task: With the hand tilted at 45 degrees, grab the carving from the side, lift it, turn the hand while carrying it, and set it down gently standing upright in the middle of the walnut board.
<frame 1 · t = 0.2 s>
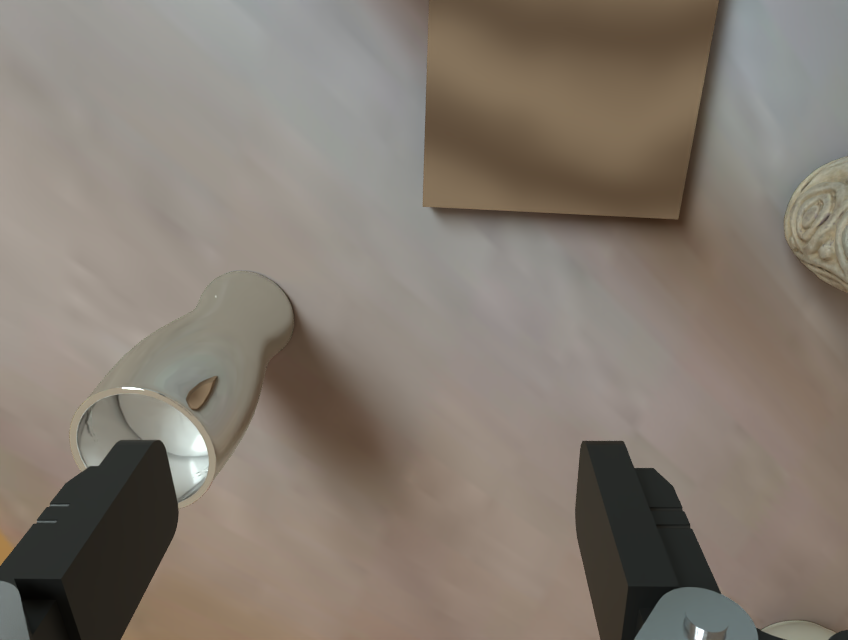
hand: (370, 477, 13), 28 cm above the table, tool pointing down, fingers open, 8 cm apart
walnut board: (567, 14, 35), on the table
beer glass: (248, 314, 44), on the table
carving: (838, 201, 38), on the table
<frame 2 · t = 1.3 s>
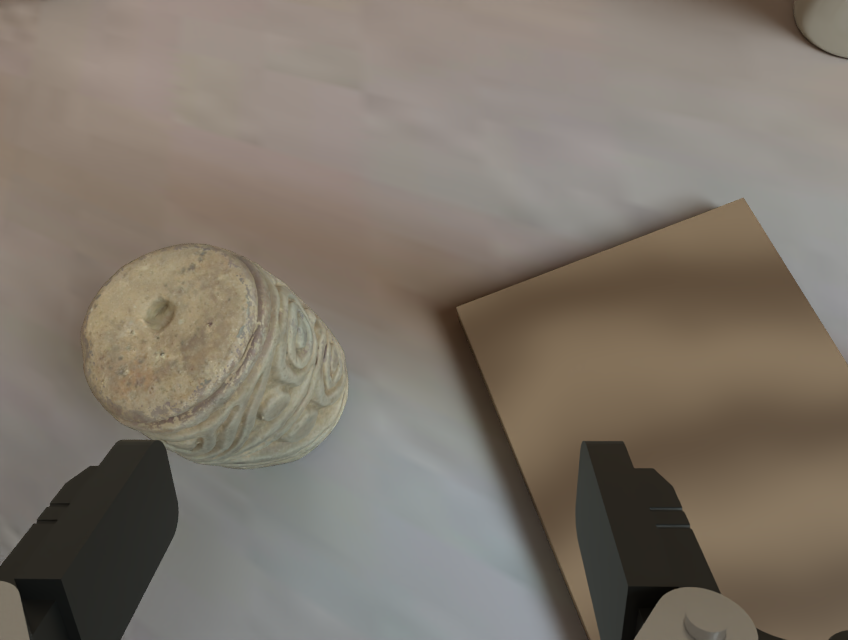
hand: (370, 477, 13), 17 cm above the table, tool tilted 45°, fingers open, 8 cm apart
walnut board: (696, 465, 29), on the table
carving: (288, 406, 33), on the table
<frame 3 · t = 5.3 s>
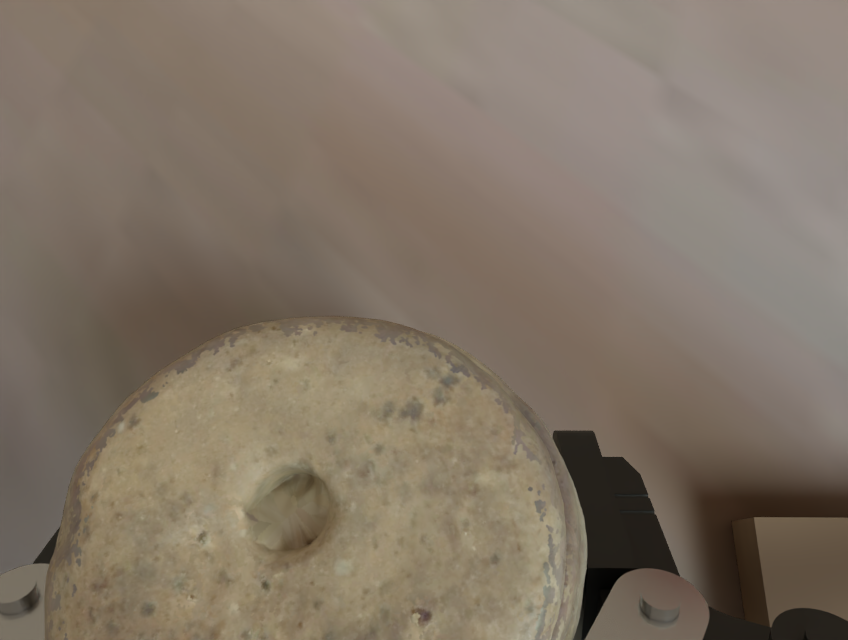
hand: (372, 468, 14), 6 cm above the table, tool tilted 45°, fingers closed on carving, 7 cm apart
carving: (397, 557, 19), on the table, touching gripper
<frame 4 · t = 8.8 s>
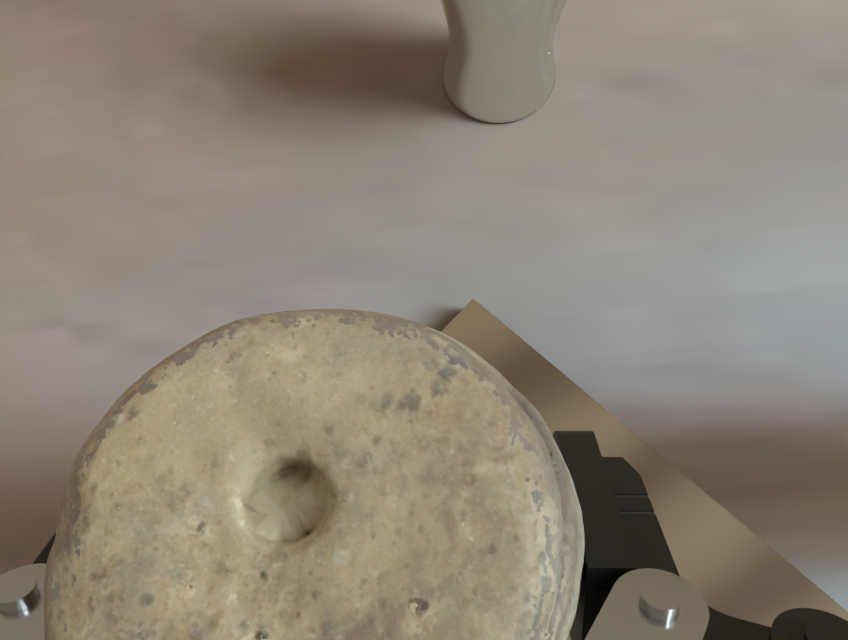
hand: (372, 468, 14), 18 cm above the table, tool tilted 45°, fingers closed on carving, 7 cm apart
walnut board: (537, 570, 30), on the table
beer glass: (498, 79, 38), on the table
carving: (396, 553, 19), point 12 cm above the table, touching gripper
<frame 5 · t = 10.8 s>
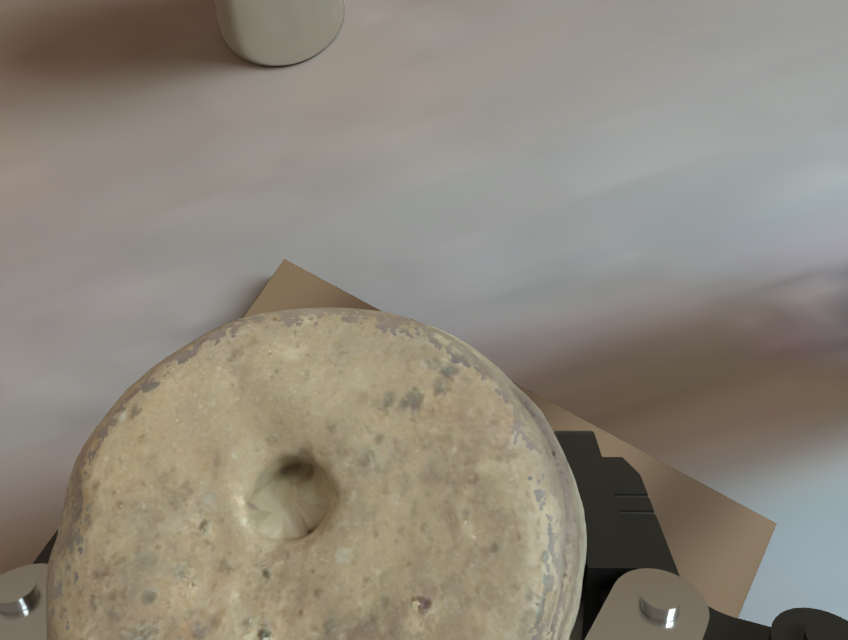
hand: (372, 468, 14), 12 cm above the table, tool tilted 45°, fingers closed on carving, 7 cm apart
walnut board: (414, 556, 25), on the table
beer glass: (283, 19, 34), on the table
carving: (397, 552, 19), point 6 cm above the table, touching gripper
when the fingers open (9 cm above the table, at t = 12.3 s): carving drops 1 cm, resting on walnut board.
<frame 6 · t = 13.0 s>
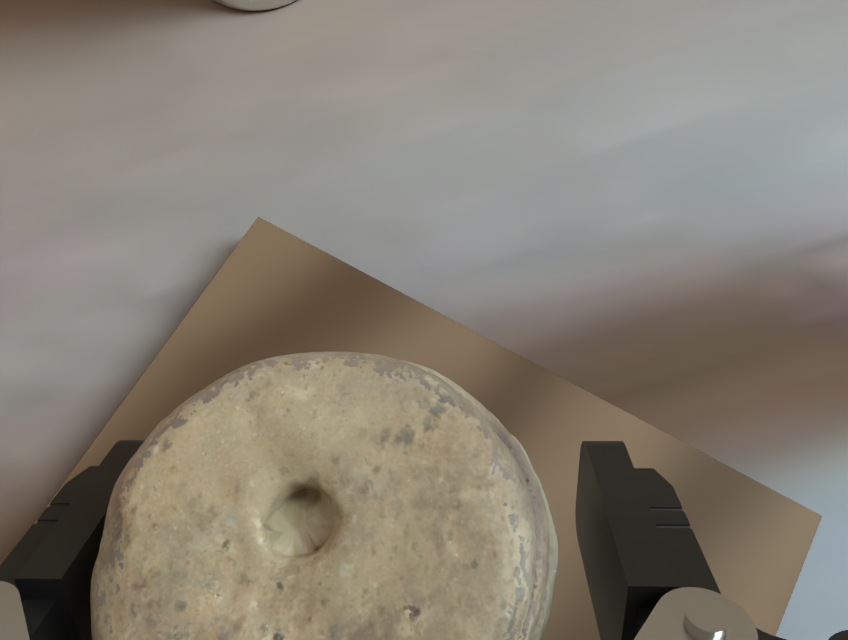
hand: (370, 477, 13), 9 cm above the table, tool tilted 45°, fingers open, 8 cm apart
walnut board: (404, 553, 22), on the table
carving: (394, 557, 20), point 1 cm above the table, touching walnut board
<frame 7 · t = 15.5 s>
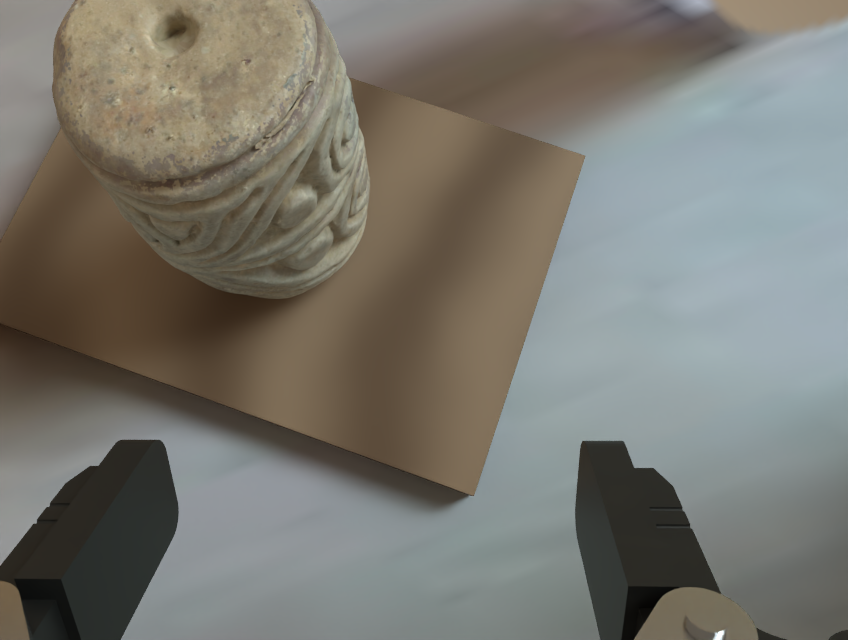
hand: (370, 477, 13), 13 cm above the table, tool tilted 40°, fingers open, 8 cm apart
walnut board: (292, 243, 28), on the table
carving: (283, 235, 27), point 1 cm above the table, touching walnut board
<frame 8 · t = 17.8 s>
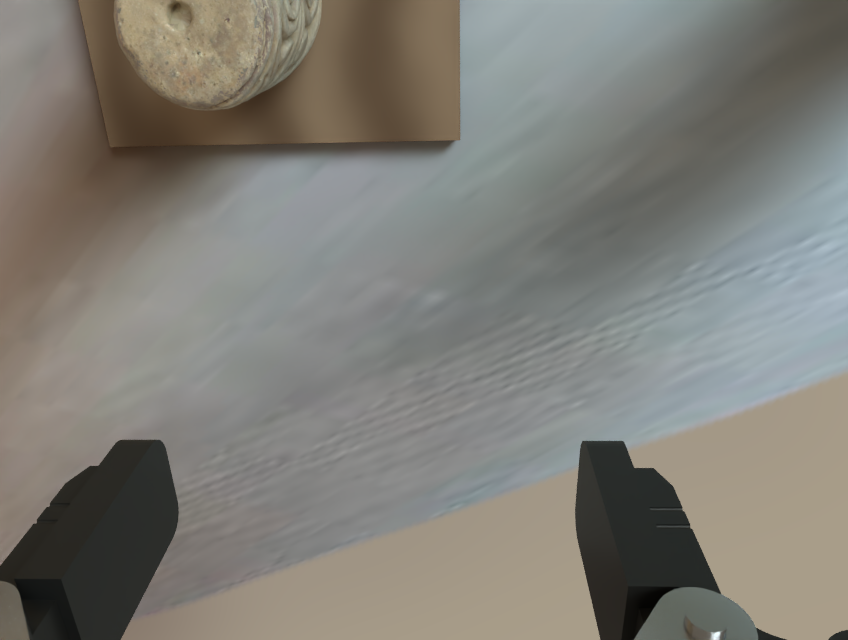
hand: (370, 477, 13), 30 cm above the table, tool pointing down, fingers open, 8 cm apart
walnut board: (274, 7, 38), on the table
carving: (267, 12, 36), point 1 cm above the table, touching walnut board
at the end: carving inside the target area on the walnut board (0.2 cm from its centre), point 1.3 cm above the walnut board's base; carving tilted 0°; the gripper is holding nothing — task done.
